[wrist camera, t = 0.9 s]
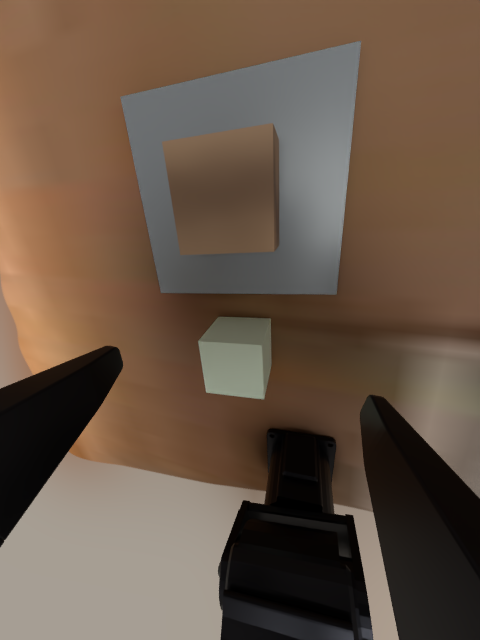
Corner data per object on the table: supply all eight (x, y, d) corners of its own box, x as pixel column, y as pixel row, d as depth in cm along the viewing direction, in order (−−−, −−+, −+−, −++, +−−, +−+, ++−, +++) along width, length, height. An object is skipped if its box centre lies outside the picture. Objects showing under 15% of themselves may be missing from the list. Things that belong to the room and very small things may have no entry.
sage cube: (271, 364, 21) (264, 399, 17) (223, 360, 22) (206, 392, 18) (270, 317, 19) (262, 345, 15) (218, 316, 21) (198, 341, 17)
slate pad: (335, 292, 17) (336, 294, 17) (164, 291, 21) (161, 292, 20) (359, 46, 12) (361, 40, 12) (125, 100, 16) (120, 96, 15)
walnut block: (279, 245, 16) (274, 251, 14) (198, 248, 18) (180, 255, 15) (278, 139, 14) (272, 123, 11) (186, 153, 16) (162, 141, 13)
